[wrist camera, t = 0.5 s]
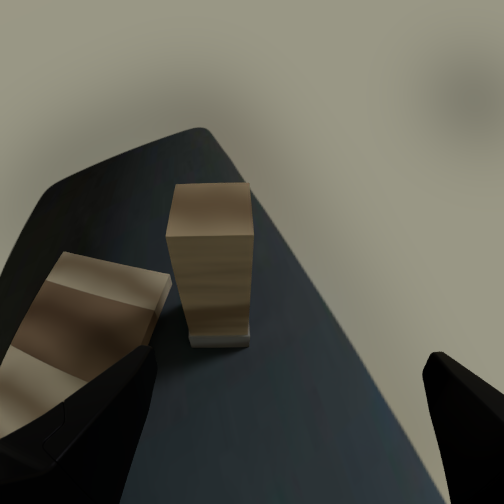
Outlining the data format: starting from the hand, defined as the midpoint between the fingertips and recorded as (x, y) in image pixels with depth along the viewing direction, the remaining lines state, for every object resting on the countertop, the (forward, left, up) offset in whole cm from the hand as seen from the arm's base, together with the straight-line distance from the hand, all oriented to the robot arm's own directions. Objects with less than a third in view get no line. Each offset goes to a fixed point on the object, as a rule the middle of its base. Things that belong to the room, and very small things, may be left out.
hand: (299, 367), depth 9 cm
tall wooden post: (+9, +5, -15) cm, 19 cm away
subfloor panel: (+1, +17, -15) cm, 23 cm away
